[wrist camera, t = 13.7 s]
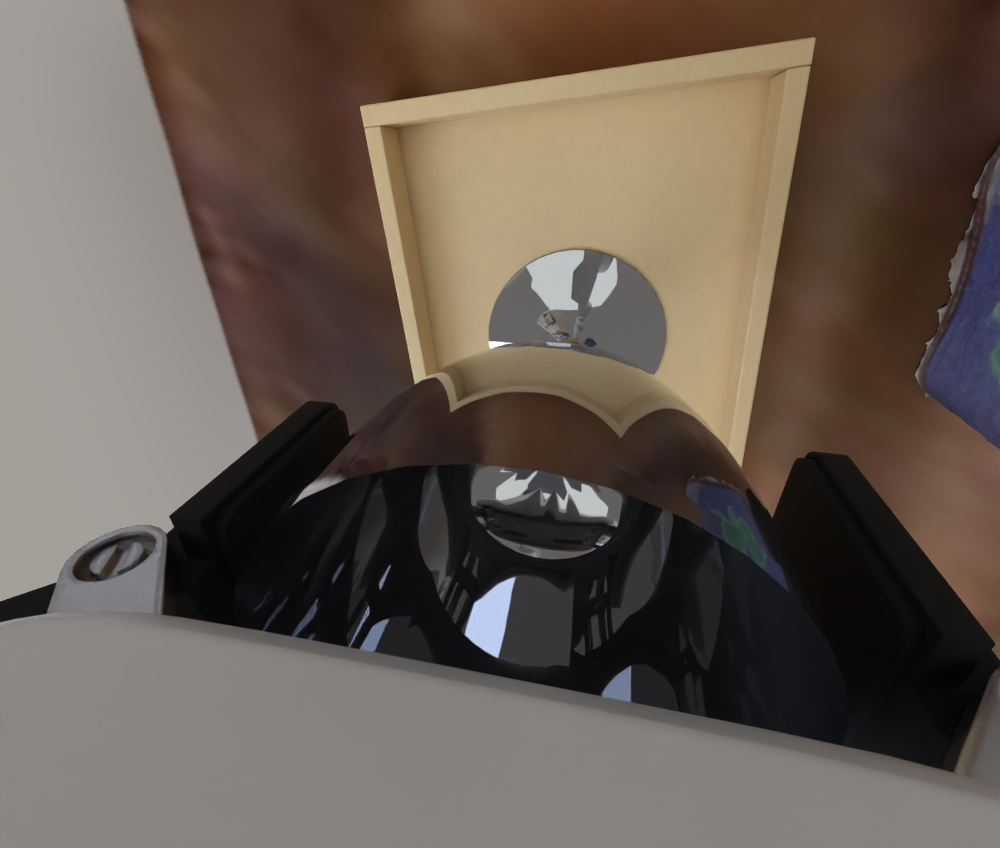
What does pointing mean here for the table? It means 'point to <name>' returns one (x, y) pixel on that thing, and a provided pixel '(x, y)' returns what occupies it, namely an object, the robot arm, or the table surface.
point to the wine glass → (555, 525)
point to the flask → (971, 320)
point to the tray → (602, 203)
